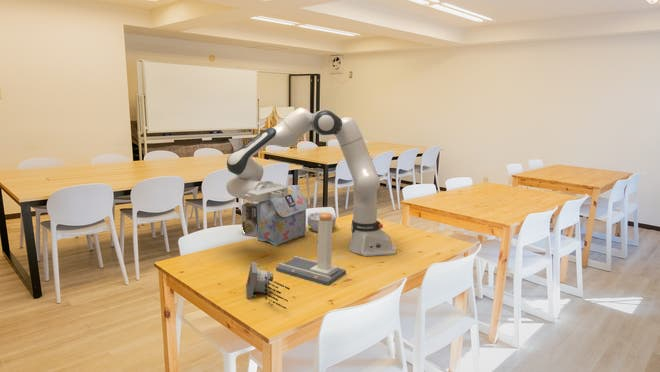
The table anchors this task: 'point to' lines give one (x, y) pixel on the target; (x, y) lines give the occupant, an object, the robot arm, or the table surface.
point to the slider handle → (324, 246)
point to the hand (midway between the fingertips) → (283, 195)
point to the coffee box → (250, 219)
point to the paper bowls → (314, 219)
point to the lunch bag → (282, 217)
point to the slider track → (308, 271)
